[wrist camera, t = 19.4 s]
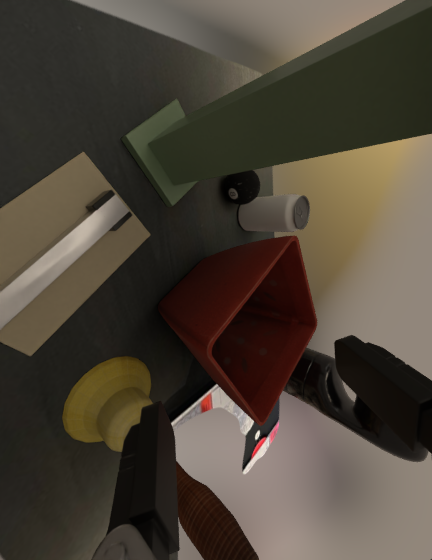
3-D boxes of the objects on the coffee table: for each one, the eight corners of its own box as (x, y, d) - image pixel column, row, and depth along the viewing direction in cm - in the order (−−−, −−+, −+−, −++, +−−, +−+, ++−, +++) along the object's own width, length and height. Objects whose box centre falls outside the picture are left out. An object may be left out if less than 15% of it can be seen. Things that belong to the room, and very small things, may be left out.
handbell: (123, 339, 33) (279, 463, 16) (163, 384, 40) (304, 507, 23) (37, 417, 27) (139, 750, 10) (101, 455, 34) (229, 695, 17)
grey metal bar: (-1, 331, 23) (0, 339, 22) (-42, 310, 21) (-44, 318, 19) (124, 215, 30) (133, 215, 28) (103, 191, 28) (111, 189, 26)
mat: (29, 354, 26) (30, 356, 25) (-113, 286, 18) (-115, 287, 18) (149, 234, 33) (150, 234, 33) (82, 152, 26) (83, 151, 26)
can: (250, 235, 50) (304, 237, 42) (233, 222, 46) (289, 222, 37) (259, 207, 51) (314, 204, 42) (242, 192, 46) (300, 185, 38)
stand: (158, 215, 34) (492, 197, 12) (108, 146, 28) (604, -153, 6) (211, 163, 39) (509, 83, 17) (179, 96, 33) (577, -160, 11)
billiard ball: (243, 196, 46) (269, 193, 42) (225, 211, 44) (251, 209, 39) (234, 165, 43) (261, 159, 39) (214, 179, 40) (241, 173, 36)
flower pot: (124, 306, 33) (205, 351, 21) (208, 229, 41) (298, 231, 30) (186, 374, 43) (262, 429, 32) (242, 302, 52) (318, 325, 40)
